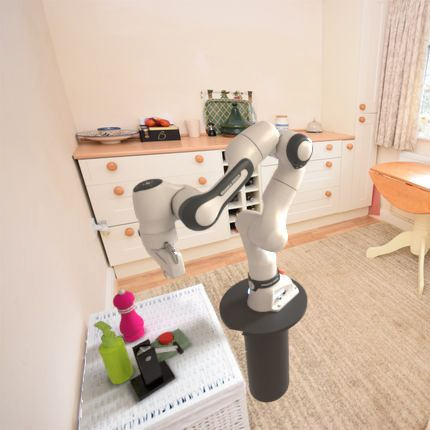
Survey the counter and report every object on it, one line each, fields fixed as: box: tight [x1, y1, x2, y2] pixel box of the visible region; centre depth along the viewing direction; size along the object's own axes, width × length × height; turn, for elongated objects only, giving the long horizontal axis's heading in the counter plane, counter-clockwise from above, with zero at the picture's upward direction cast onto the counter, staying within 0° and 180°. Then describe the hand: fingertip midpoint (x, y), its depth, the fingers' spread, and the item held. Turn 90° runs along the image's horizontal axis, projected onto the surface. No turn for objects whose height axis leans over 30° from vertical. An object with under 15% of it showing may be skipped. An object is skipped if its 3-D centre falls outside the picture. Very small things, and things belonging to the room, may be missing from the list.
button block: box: [150, 328, 191, 363], centre depth 98 cm, size 11×8×4 cm
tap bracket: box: [129, 338, 176, 402], centre depth 85 cm, size 10×8×14 cm
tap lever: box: [137, 341, 185, 355], centre depth 87 cm, size 12×5×2 cm, turn 138°
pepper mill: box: [112, 288, 146, 343], centre depth 99 cm, size 7×7×20 cm
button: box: [158, 331, 173, 345], centre depth 97 cm, size 4×4×2 cm
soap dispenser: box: [93, 320, 134, 385], centre depth 85 cm, size 6×7×20 cm
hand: (168, 276), depth 88 cm, fingers closed
